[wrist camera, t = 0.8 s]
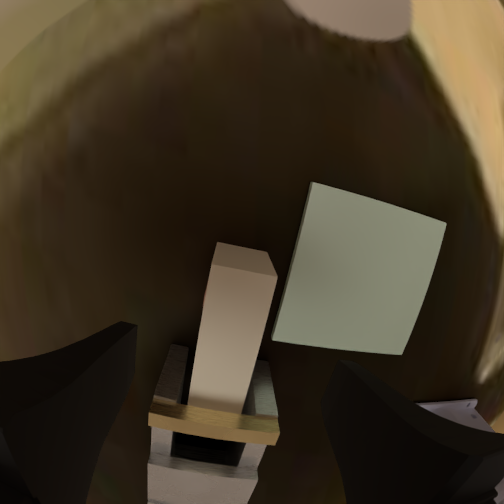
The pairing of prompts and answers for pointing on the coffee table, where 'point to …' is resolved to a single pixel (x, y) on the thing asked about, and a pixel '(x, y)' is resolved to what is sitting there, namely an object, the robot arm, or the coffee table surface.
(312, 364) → the coffee table surface
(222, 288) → the beige rectangular block
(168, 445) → the frame
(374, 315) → the pad
